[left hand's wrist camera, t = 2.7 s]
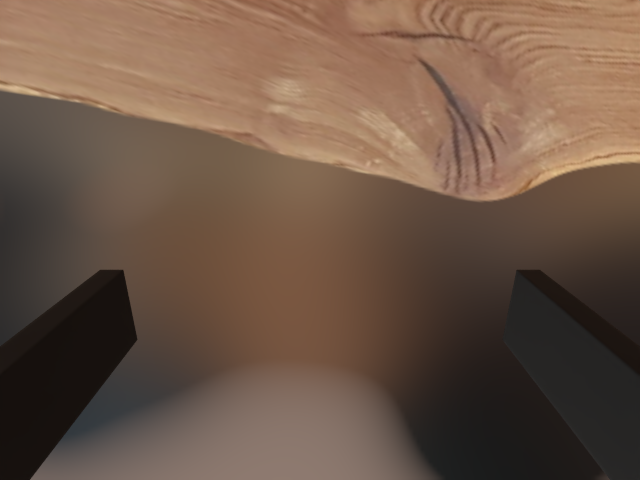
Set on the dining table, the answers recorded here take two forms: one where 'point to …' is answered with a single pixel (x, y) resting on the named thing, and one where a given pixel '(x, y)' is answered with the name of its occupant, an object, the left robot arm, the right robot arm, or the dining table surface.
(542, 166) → the dining table surface
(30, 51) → the dining table surface
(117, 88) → the dining table surface
